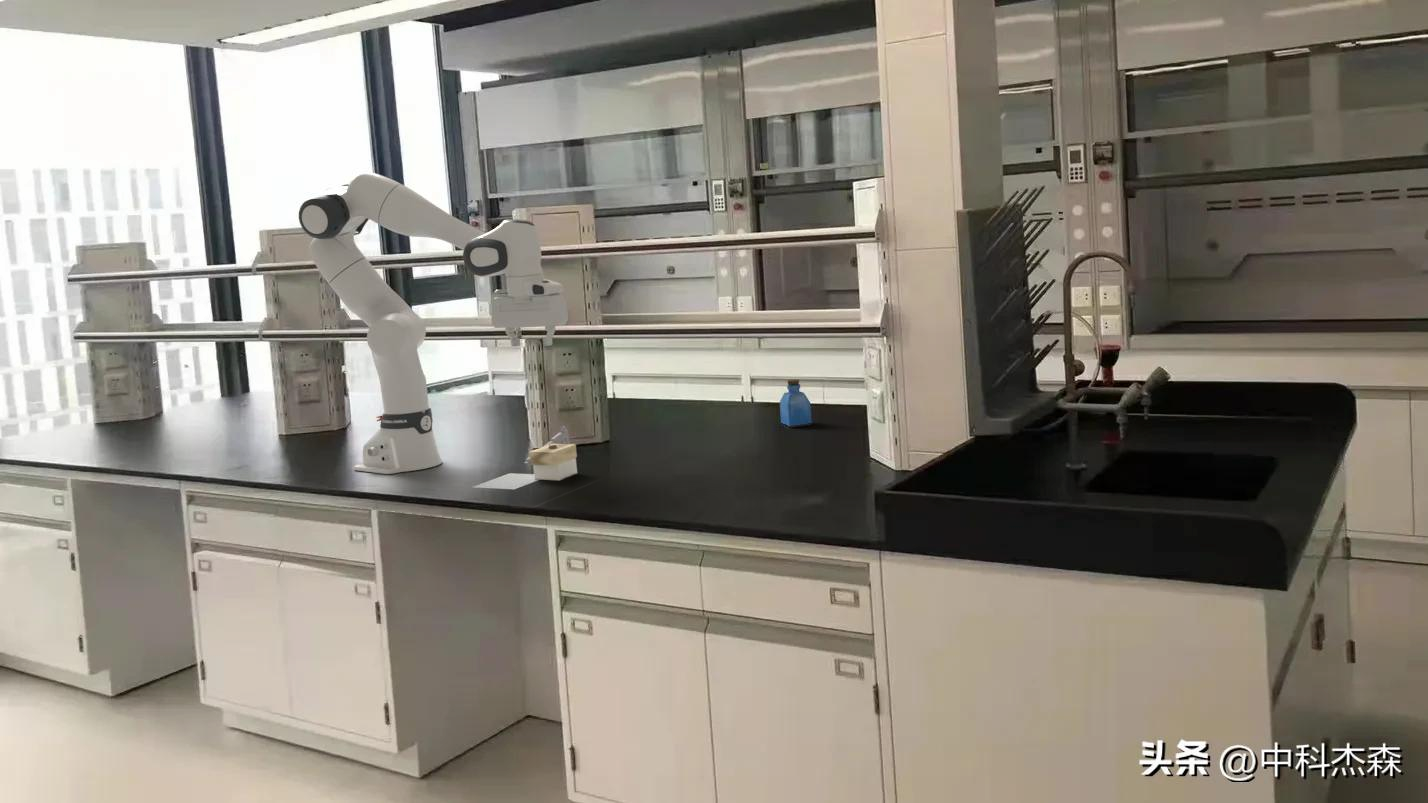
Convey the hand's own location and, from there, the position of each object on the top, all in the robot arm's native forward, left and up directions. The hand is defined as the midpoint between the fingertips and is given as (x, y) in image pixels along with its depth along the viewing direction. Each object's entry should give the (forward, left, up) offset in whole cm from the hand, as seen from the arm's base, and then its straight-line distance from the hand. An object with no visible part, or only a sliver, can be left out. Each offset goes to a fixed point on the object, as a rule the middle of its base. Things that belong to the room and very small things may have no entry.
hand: (531, 345), depth 285 cm
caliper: (-6, +10, -30) cm, 32 cm away
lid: (+12, -12, -25) cm, 30 cm away
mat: (+4, -18, -29) cm, 34 cm away
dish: (+12, -12, -29) cm, 34 cm away
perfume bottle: (+43, +54, -29) cm, 75 cm away
